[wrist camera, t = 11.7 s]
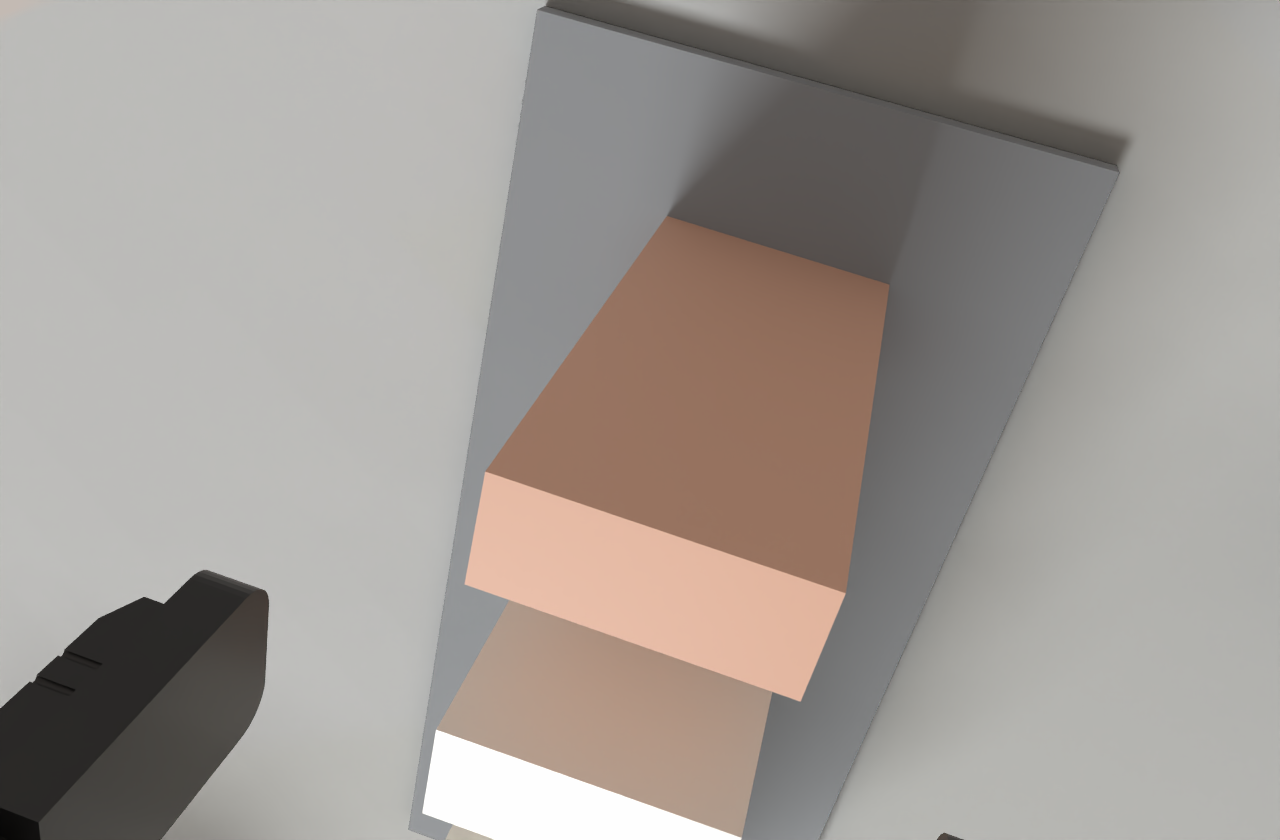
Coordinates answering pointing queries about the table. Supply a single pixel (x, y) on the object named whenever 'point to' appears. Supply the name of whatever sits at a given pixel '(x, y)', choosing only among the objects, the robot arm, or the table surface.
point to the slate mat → (805, 227)
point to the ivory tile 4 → (593, 740)
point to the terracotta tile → (696, 460)
